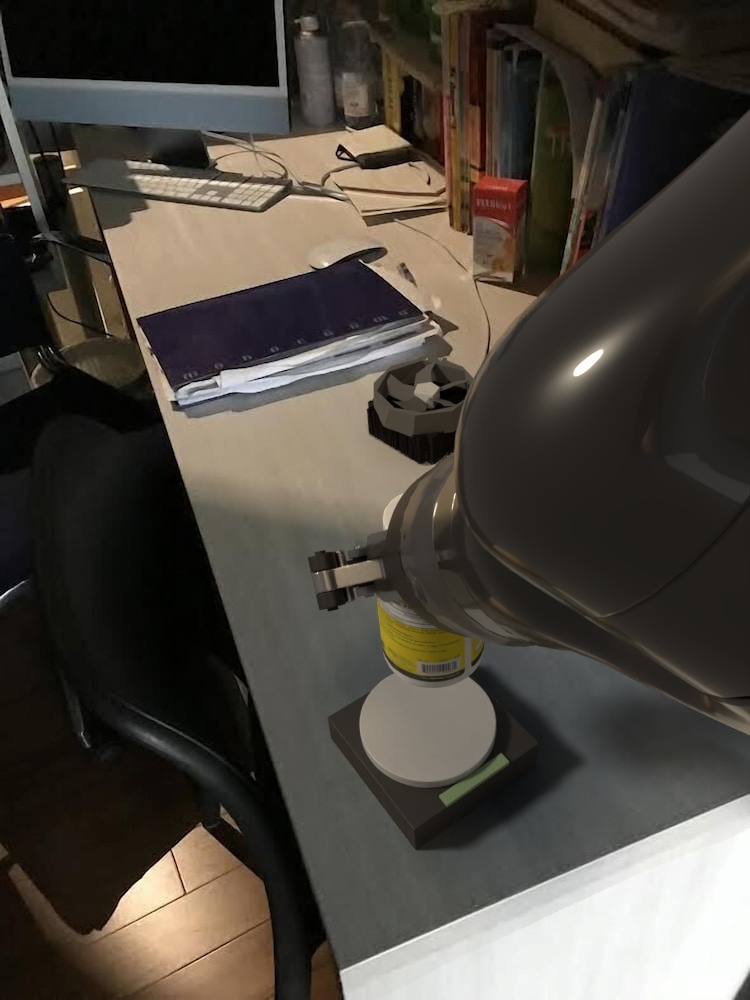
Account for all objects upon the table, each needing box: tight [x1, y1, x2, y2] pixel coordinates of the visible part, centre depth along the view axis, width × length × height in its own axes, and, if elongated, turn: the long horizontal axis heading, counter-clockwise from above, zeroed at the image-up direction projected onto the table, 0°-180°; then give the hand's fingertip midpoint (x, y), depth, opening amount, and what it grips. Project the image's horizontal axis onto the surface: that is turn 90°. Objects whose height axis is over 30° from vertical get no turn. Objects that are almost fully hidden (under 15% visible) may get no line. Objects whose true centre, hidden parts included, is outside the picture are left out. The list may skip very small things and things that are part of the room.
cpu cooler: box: [366, 355, 474, 465], centre depth 83 cm, size 10×6×10 cm
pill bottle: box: [375, 491, 486, 688], centre depth 47 cm, size 6×6×11 cm
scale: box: [326, 672, 540, 851], centre depth 56 cm, size 10×10×3 cm
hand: (420, 557), depth 48 cm, fingers closed on pill bottle, 6 cm apart
